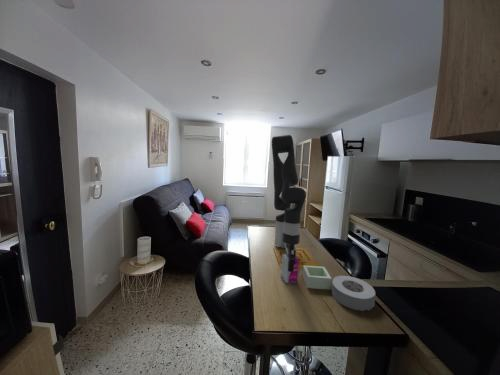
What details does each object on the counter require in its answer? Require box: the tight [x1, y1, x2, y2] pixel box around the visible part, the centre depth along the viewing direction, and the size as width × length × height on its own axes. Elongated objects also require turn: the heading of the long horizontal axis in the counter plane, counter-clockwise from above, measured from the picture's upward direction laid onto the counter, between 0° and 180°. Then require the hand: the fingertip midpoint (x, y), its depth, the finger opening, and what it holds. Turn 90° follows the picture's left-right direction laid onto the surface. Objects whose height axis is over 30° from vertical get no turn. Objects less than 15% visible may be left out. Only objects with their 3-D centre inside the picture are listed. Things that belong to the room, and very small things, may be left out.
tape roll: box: [331, 275, 377, 312], centre depth 77 cm, size 15×15×5 cm
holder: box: [302, 265, 333, 291], centre depth 87 cm, size 10×10×5 cm
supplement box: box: [280, 253, 300, 285], centre depth 88 cm, size 6×6×12 cm
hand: (289, 266), depth 87 cm, fingers open, 8 cm apart
